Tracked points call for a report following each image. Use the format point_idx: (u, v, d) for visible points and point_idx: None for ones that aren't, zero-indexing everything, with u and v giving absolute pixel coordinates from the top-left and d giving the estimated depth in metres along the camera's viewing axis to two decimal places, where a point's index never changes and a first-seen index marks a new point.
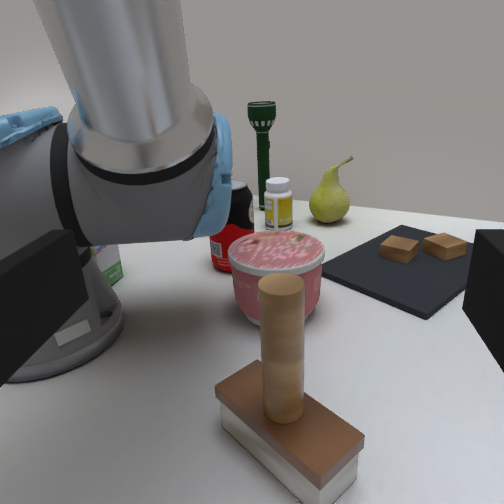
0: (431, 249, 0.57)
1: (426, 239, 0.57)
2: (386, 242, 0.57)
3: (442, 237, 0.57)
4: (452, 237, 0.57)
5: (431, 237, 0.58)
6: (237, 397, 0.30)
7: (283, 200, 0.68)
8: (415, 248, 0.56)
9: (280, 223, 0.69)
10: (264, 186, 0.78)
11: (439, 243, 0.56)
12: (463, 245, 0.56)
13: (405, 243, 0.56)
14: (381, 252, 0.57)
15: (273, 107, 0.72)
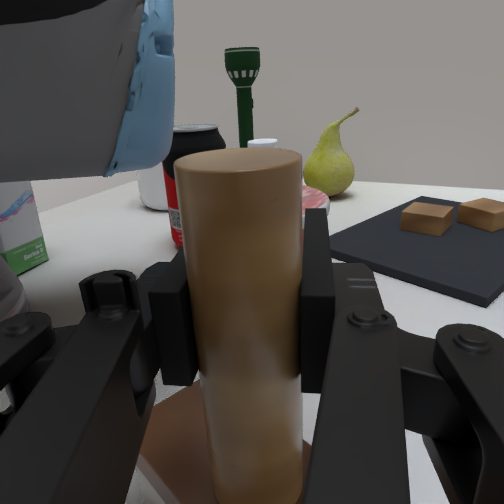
0: (470, 218, 0.42)
1: (462, 205, 0.42)
2: (409, 209, 0.42)
3: (484, 203, 0.42)
4: (497, 202, 0.42)
5: (469, 202, 0.43)
6: (160, 453, 0.14)
7: None
8: (449, 216, 0.41)
9: None
10: None
11: (482, 208, 0.41)
12: None
13: (435, 209, 0.41)
14: (403, 222, 0.42)
15: (256, 53, 0.57)
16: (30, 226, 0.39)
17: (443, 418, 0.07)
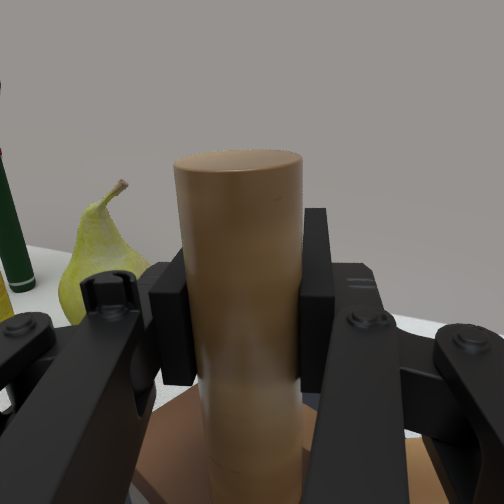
0: None
1: None
2: None
3: None
4: (435, 478, 0.15)
5: None
6: (154, 465, 0.13)
7: None
8: None
9: None
10: (3, 243, 0.35)
11: None
12: None
13: None
14: None
15: None
16: None
17: (442, 418, 0.07)
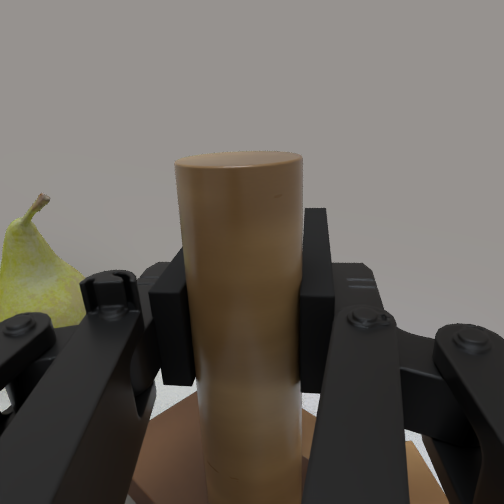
0: None
1: None
2: None
3: None
4: (424, 482, 0.15)
5: None
6: (151, 473, 0.13)
7: None
8: None
9: None
10: None
11: None
12: None
13: None
14: None
15: None
16: None
17: (442, 418, 0.07)
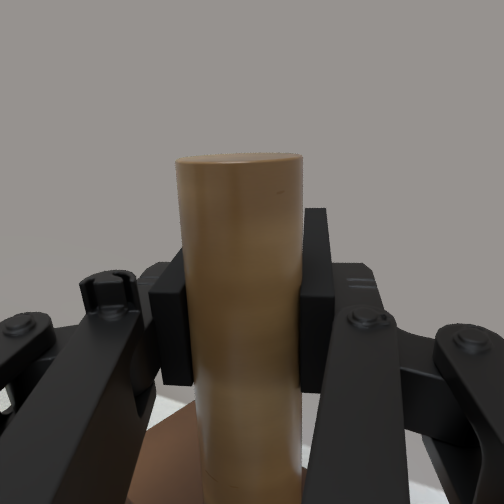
0: None
1: None
2: None
3: None
4: None
5: None
6: (144, 488, 0.13)
7: None
8: None
9: None
10: None
11: None
12: None
13: None
14: None
15: None
16: None
17: (442, 418, 0.07)
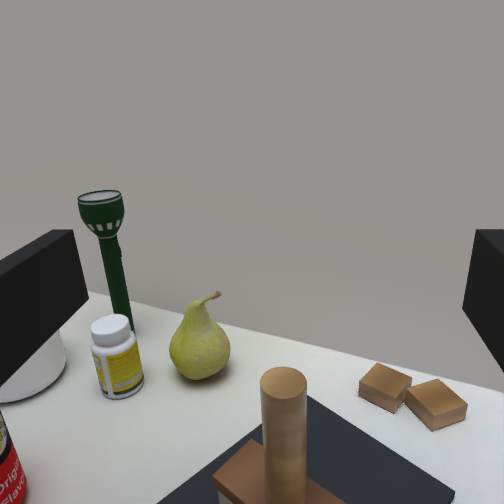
0: (415, 407, 0.41)
1: (409, 391, 0.41)
2: (368, 377, 0.43)
3: (433, 391, 0.41)
4: (447, 391, 0.41)
5: (417, 388, 0.42)
6: (237, 487, 0.29)
7: (115, 358, 0.43)
8: None
9: (116, 389, 0.44)
10: (119, 309, 0.53)
11: (426, 402, 0.40)
12: (461, 409, 0.39)
13: (393, 380, 0.43)
14: (361, 391, 0.43)
15: (114, 204, 0.47)
16: None
17: None
